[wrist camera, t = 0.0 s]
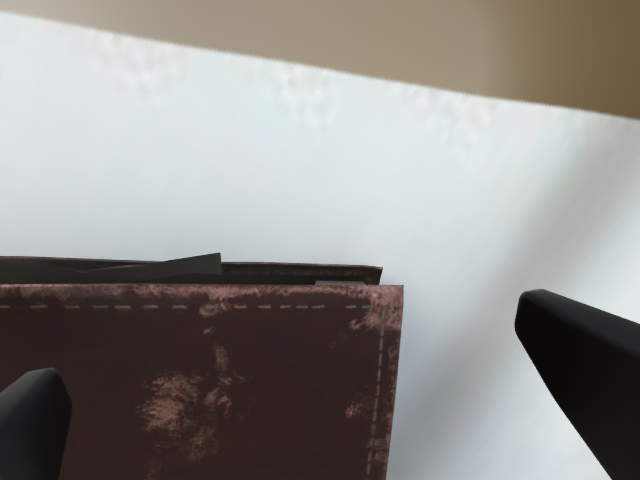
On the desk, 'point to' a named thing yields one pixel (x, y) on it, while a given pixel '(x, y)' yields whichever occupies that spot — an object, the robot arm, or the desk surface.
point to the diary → (209, 365)
